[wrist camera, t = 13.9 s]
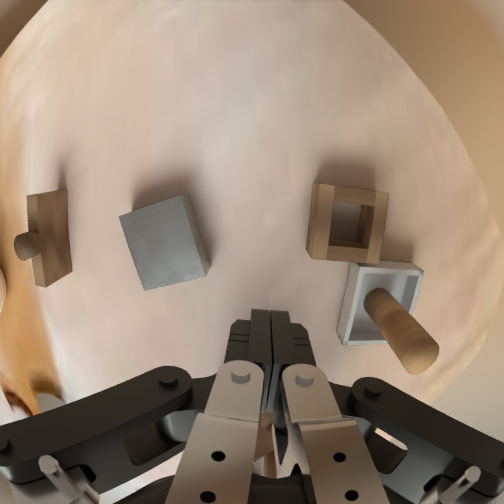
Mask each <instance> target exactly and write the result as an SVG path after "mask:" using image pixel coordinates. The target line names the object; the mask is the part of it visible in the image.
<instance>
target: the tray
mask: <svg viewBox="0 0 504 504" xmlns="http://www.w3.org/2000/svg"><path fill="white" fill-rule="evenodd" d="M423 273H424V271H423V270H422V269H420V268H419V267H417V266H416V265H414V264H413V263H404V262H391V261H379V264H372V263H359V262H351V264H350V270H349V275H348V280H347V286H346V291H345V296H344V301H343V305H342V310H341V315H340V319H339V323H338V328H337V334H338V337H339V339H340V341H341V343H342V345H380V344H388V342H387V341H386V339H385V338H384V337H383V335H382V334H381V332H380V331H379V329H378V328H377V326H376V325H375V324H374V322H373V321H372V319H371V318H370V316H369V315H368V314H367V312H366V311H365V309H364V305H363V304H364V299H365V297H366V295H367V294H368V293H369V292H370V291H371V290H373V289H375V288H384V289H386V290H387V291H388V292H389V293H390V294H391V295H392V296H393V297H394V298H395V299H396V300H397V301H398V302H399V303H400V304H401V305H402V306H403V307H404V308H405V309H406V310H407V311H408V312H409V313H410V314H411V316H412V314H413V311H414V307H415V304H416V300H417V297H418V293H419V289H420V285H421V281H422V277H423Z"/></svg>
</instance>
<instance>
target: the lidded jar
mask: <svg viewBox="0 0 504 504" xmlns="http://www.w3.org/2000/svg"><path fill="white" fill-rule="evenodd" d="M6 292H7V287H6V281H5V278H4V275H3V273H2V271H1V269H0V313H1V311H2V309H3V306H4V301H5V296H6Z"/></svg>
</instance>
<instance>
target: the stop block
mask: <svg viewBox="0 0 504 504" xmlns="http://www.w3.org/2000/svg"><path fill="white" fill-rule="evenodd" d="M27 215H28V230H29V232H26V233H23V234H20V235H18V236H16V238H15V241H14V249H15V252H16V254H17V256H18V258H19V259H21V260H23V261H25V260H27V259H29V258H32V265H33V271H34V277H35V283H36V285H37V286H41V287H48V286H49V285H51V284H52V283H54V282H56V281H57V280H59V279H61V278H62V277H64V276H65V275H67V274H69V273H70V272H72V266H71V257H70V246H69V233H68V214H67V190H63V191H52V192H46V193H40V194H34V195H28V196H27Z"/></svg>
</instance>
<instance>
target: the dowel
mask: <svg viewBox="0 0 504 504" xmlns="http://www.w3.org/2000/svg"><path fill="white" fill-rule="evenodd" d="M363 305H364V309H365V311H366V312H367V314H368V315H369V316H370V318H371V319H372V321H373V322H374V324H375V325H376V326H377V328H378V329H379V331H380V332H381V334H382V335H383V337H384V338H385V339H386V341H387V342H388V344H389V345H390V347H391V348H392V350H393V351H394V353H395V354H396V356H397V357H398V359H399V360H400V362H401V363H402V365H403V366H404V368H405V369H406V371H407V372H408V373H410V374H419V373H421V372H423V371H425V370H427V369H428V368H429V367H430V366H431V365H432V364H433V363H434V362H435V360H436V359H437V356H438V354H439V345H438V344H437V342H436V341H435V340H434V339H433V338H432V337H431V336H430V335H429V334H428V333H427V331H426V330H425V329H424V328H423V327H422V326H421V325H420V324H419V323H418V322H417V321H416V320H415V319H414V318H413V317H412V316H411V314H410V313H409V312H408V311H407V310H406V309H405V308H404V307H403V306H402V305H401V304H400V303H399V302H398V301H397V300H396V299H395V298H394V297H393V296H392V295H391V294H390V293H389V292H388V291H387V290H386V289H384V288H375V289H373V290H371V291H370V292H369V293H368V294H367V295H366V297H365V299H364V304H363Z"/></svg>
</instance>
